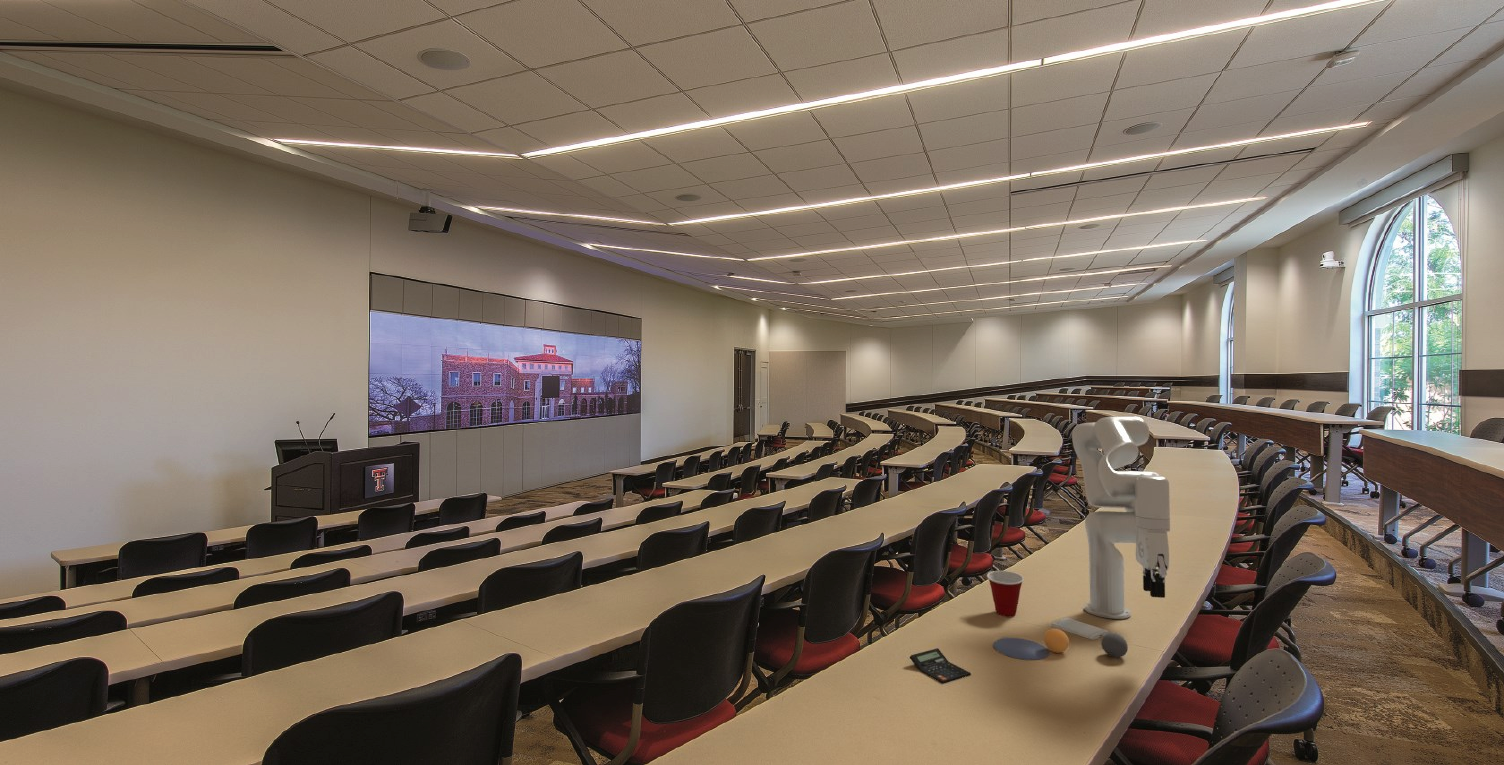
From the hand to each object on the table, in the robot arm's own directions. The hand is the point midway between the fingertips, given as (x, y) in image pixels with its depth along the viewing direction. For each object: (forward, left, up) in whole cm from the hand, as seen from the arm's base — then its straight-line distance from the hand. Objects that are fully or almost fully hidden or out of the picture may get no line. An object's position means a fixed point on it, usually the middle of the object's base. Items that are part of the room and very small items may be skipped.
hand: (1154, 593), depth 161 cm
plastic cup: (-27, -32, -18) cm, 46 cm away
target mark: (0, -32, -17) cm, 37 cm away
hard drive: (-18, -14, -18) cm, 29 cm away
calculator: (+18, -54, -18) cm, 60 cm away
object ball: (0, -24, -14) cm, 28 cm away
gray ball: (0, -10, -14) cm, 17 cm away
